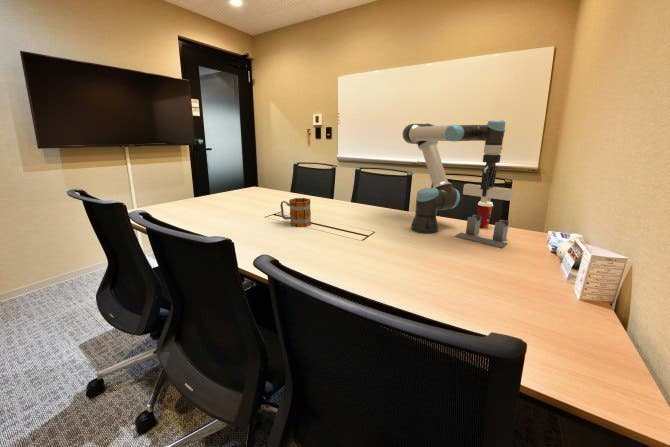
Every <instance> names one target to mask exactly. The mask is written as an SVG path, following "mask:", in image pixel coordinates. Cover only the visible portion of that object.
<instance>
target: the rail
mask: <svg viewBox="0 0 670 447" xmlns="http://www.w3.org/2000/svg"><path fill="white" fill-rule="evenodd" d="M480 188H481V184H473V183H465V184H463V191H462V195H465V196H466V195H467V196H472V197H480V198H481V196H482V189H480ZM488 190H489V191H488V198H491V199H493V200H494V199H495V200H503V201H509V202H510V201H511V200H512V199H513V194H514V189H513V188H506V187H500V186H493V187H492V186H488Z"/></svg>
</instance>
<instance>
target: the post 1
mask: <svg viewBox="0 0 670 447" xmlns="http://www.w3.org/2000/svg"><path fill="white" fill-rule="evenodd" d="M480 221H481V216H478V214H472V216H467V221H466V227H465V228H466V230H465V234H470V235H474V236H478V234H480V229H481V228H480Z"/></svg>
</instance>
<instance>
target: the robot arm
mask: <svg viewBox="0 0 670 447" xmlns="http://www.w3.org/2000/svg"><path fill="white" fill-rule="evenodd" d="M505 131H506V121H505V120H504V119H501V120H500V119H499V120H498V119H496V120H495V119H494V120H492V119H491V120H488V121H487V124H450V125H448V124H447V125H436V124H432V123H428V122H427V123H411V124H408V125H406V126H405V127H404V128H403V131H402V139H403V140H404V142H406V143H407V144H412V145H417V147H418V150H420V151H422V155H423V157H424V161H425V164H426V168H427V170H428V171H427V172H428V174H429V178H430V181H431V184H432V187H424V188H421V189H418V190H417V192H416V197H415V198H416V199H415V210H414V211H415V213H414V217H413V219H412V222H411V227H410V229H411V230H412V231H414V232H416V233H421V234H435V233H438V232H439V223H438V218H437V212H438V211H442V210H443V211H445V210H452V209H454V208H456V207H457V206H458V204H459V203H460V200H461V195H460V191H459V190H458V189H456V188H454V187H453V184H452V182H449V181H448V180H449V179H448V178H447V177H448V176H447V175H446V172H445V169H444V166H443V162H442V159H441V155H440V153H439V150H438V147H437V145H438V143H439V142H471V141H472V142H473V141H475V142H477V141H478V142H484V148H483V153H484V154H483V156H482V162H483V163H485V166H484V168H482V169H481V170H482V173H481V174H482V175H481V181H480V182H481V183H480V185H481V188H480V189H482V196H481V197H480V201H481V202H482V203H487V201H489V202H491V199H492V198H488V191H489V190H488V186H492V187H495V184H496V183H495V182H496V177H497V170H498V168H499V167H498V166H496V165H497V164H498V163H500V162H501V158H502V156H501V154H502V150H503V149H504V147H503V142H504V141H503V140H504V136H505Z"/></svg>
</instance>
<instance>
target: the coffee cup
mask: <svg viewBox="0 0 670 447" xmlns="http://www.w3.org/2000/svg"><path fill="white" fill-rule="evenodd" d="M493 203H494V202H492V201H490V202H489V201H487V203H482V202H481V200H480V201H478V203H477V215H478V216H481V221H480V229H488V228H489V225H490V220H491V216H492V215H491V214H492V210H493V207H494V204H493Z"/></svg>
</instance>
